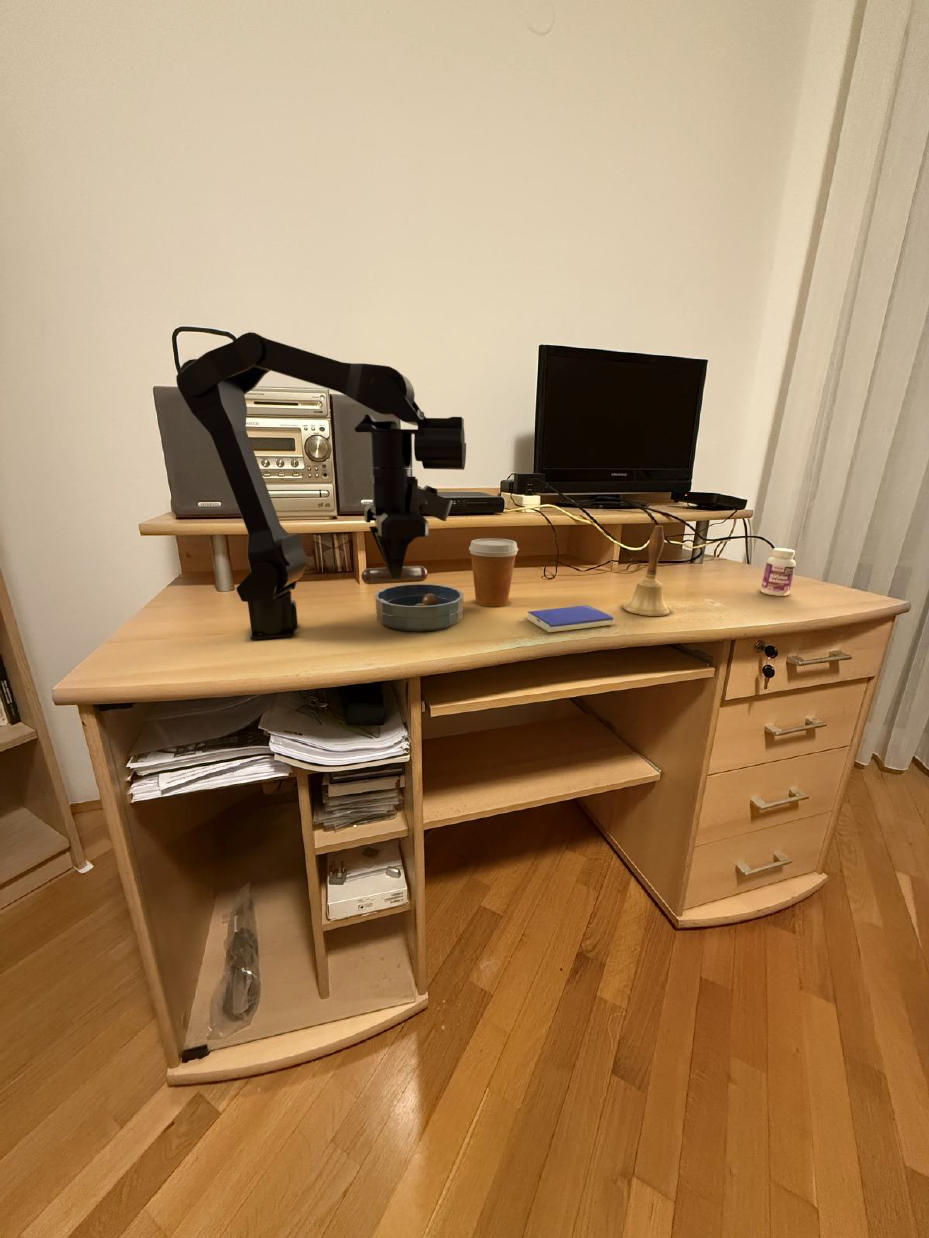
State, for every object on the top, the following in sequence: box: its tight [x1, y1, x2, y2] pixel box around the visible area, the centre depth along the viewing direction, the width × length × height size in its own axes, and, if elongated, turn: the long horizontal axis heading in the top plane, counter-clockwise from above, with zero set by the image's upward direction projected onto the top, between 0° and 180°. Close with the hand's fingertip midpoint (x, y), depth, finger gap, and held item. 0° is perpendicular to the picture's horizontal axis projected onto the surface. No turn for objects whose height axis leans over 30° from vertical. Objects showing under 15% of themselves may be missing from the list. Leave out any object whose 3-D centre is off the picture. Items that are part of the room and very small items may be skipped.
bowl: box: [373, 583, 464, 632], centre depth 85 cm, size 15×15×4 cm
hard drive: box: [526, 604, 614, 633], centre depth 86 cm, size 2×8×12 cm
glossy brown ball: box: [422, 594, 439, 606], centre depth 88 cm, size 3×3×3 cm
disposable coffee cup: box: [468, 537, 520, 608], centre depth 95 cm, size 10×10×12 cm
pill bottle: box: [760, 547, 797, 597], centre depth 106 cm, size 5×5×10 cm
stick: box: [361, 565, 429, 586], centre depth 74 cm, size 10×2×2 cm, turn 108°
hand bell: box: [623, 525, 670, 617], centre depth 91 cm, size 8×8×16 cm
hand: (394, 576), depth 74 cm, fingers closed on stick, 2 cm apart
